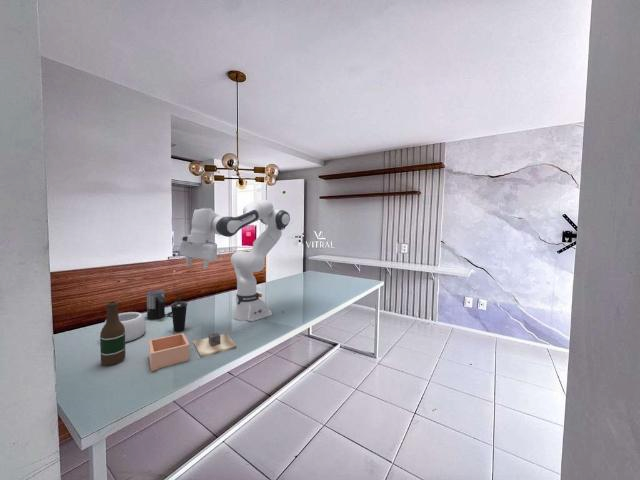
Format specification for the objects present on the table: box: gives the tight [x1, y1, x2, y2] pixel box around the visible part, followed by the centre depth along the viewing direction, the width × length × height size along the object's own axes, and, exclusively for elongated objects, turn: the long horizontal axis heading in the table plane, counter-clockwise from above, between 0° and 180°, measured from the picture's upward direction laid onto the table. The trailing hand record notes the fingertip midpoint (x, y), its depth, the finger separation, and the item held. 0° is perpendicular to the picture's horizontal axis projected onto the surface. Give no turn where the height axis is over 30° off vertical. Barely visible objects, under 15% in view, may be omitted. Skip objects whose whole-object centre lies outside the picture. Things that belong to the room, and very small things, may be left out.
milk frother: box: [145, 289, 172, 320], centre depth 150 cm, size 14×16×15 cm
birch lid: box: [192, 331, 238, 358], centre depth 116 cm, size 15×15×5 cm
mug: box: [102, 311, 147, 343], centre depth 120 cm, size 21×17×10 cm
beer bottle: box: [99, 301, 127, 367], centre depth 101 cm, size 8×8×24 cm
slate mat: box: [189, 337, 240, 361], centre depth 116 cm, size 17×17×1 cm
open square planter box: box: [148, 332, 190, 373], centre depth 105 cm, size 13×13×7 cm
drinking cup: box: [170, 291, 188, 333], centre depth 131 cm, size 8×8×20 cm
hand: (196, 267), depth 126 cm, fingers open, 8 cm apart
